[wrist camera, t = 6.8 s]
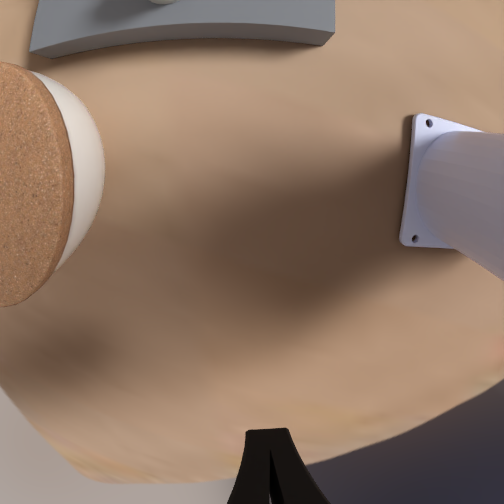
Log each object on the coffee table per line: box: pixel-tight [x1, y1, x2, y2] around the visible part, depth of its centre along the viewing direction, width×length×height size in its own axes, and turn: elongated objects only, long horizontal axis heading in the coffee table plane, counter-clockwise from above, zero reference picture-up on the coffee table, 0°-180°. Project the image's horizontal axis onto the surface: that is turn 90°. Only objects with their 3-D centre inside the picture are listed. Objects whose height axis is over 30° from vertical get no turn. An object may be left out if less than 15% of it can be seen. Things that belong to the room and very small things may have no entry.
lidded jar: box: [0, 62, 105, 307], centre depth 12 cm, size 11×11×9 cm
